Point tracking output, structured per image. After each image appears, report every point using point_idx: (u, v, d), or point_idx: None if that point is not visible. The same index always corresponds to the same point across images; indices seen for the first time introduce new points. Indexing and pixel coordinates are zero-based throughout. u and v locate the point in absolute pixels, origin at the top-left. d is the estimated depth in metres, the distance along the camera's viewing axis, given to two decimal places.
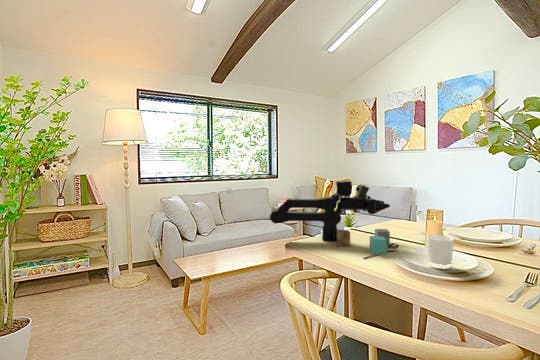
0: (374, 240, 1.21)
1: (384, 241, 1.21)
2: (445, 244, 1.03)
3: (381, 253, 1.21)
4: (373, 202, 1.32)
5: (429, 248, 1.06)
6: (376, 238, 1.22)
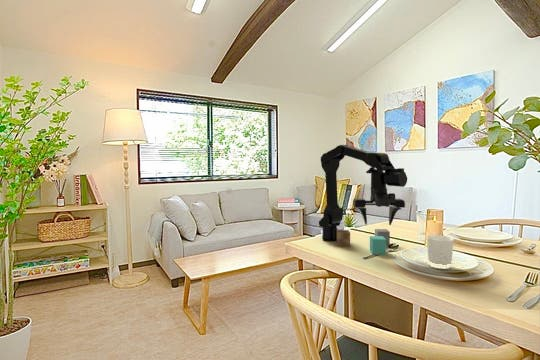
0: (374, 240, 1.21)
1: (384, 241, 1.21)
2: (445, 244, 1.03)
3: (381, 253, 1.21)
4: (354, 205, 1.21)
5: (429, 248, 1.06)
6: (376, 238, 1.22)
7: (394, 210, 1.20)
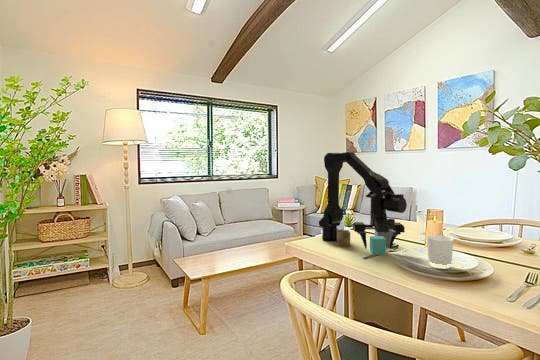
0: (374, 240, 1.21)
1: (384, 241, 1.21)
2: (445, 244, 1.03)
3: (381, 253, 1.21)
4: (354, 229, 1.22)
5: (429, 248, 1.06)
6: (376, 238, 1.22)
7: (394, 235, 1.20)
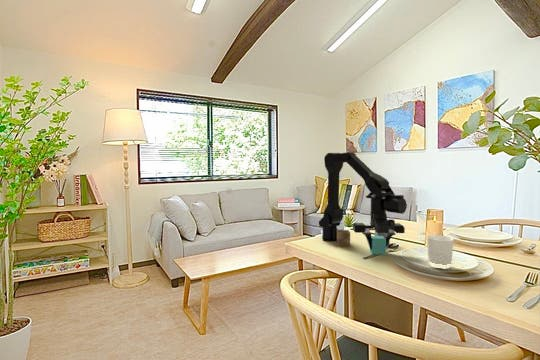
0: (374, 240, 1.21)
1: (384, 241, 1.21)
2: (445, 244, 1.03)
3: (381, 253, 1.21)
4: (354, 230, 1.22)
5: (429, 248, 1.06)
6: (376, 238, 1.22)
7: (389, 235, 1.21)
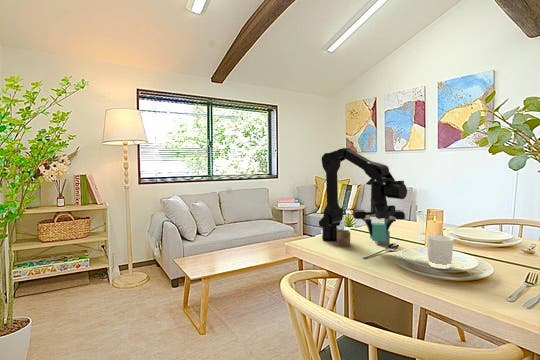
0: (374, 226, 1.21)
1: (384, 227, 1.20)
2: (445, 244, 1.03)
3: (381, 239, 1.21)
4: (354, 216, 1.21)
5: (429, 248, 1.06)
6: (376, 224, 1.22)
7: (389, 222, 1.20)
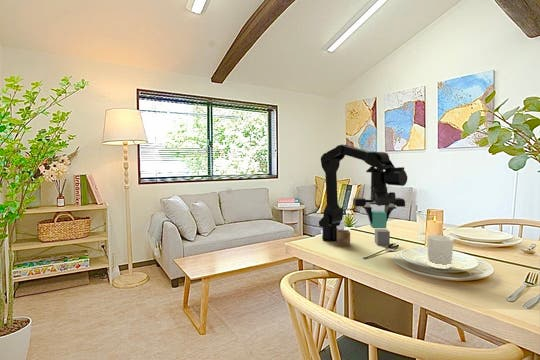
0: (374, 214, 1.20)
1: (384, 215, 1.20)
2: (445, 244, 1.03)
3: (381, 227, 1.20)
4: (355, 204, 1.21)
5: (429, 248, 1.06)
6: (376, 212, 1.21)
7: (389, 209, 1.20)
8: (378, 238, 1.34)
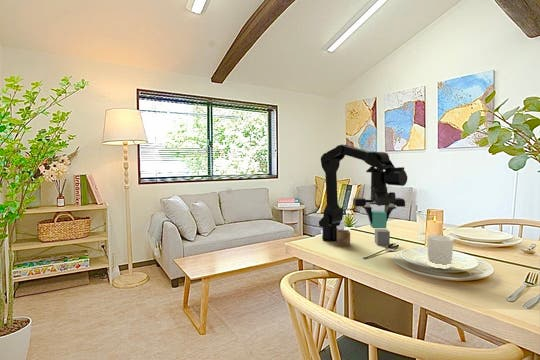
0: (374, 214, 1.20)
1: (384, 215, 1.20)
2: (445, 244, 1.03)
3: (381, 227, 1.20)
4: (355, 204, 1.21)
5: (429, 248, 1.06)
6: (376, 212, 1.21)
7: (389, 209, 1.20)
8: (378, 238, 1.34)
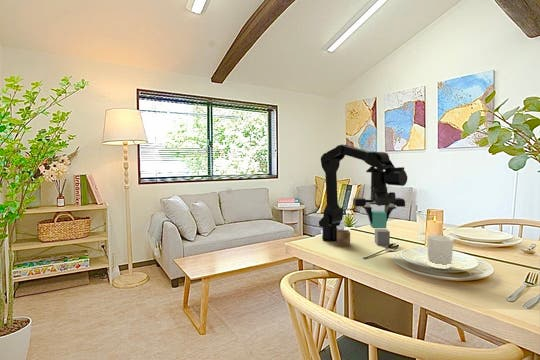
0: (374, 214, 1.20)
1: (384, 215, 1.20)
2: (445, 244, 1.03)
3: (381, 227, 1.20)
4: (355, 204, 1.21)
5: (429, 248, 1.06)
6: (376, 212, 1.21)
7: (389, 209, 1.20)
8: (378, 238, 1.34)
